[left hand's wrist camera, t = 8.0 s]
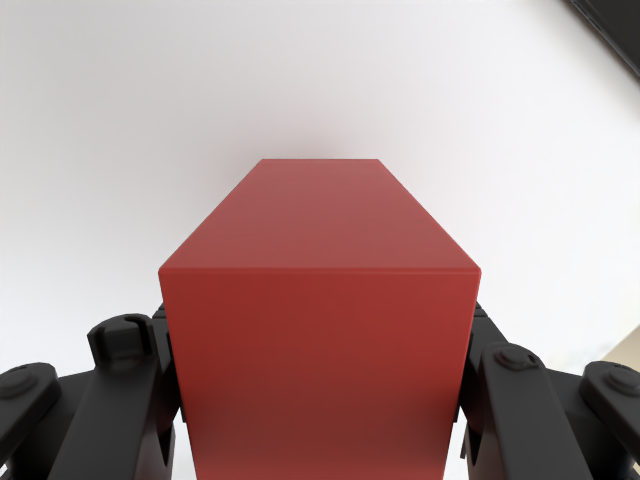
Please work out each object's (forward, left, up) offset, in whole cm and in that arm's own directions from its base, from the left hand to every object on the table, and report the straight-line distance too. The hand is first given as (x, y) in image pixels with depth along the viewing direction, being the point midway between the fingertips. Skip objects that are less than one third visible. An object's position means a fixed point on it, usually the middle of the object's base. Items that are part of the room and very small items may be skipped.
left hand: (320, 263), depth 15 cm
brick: (0, 0, -4) cm, 4 cm away
